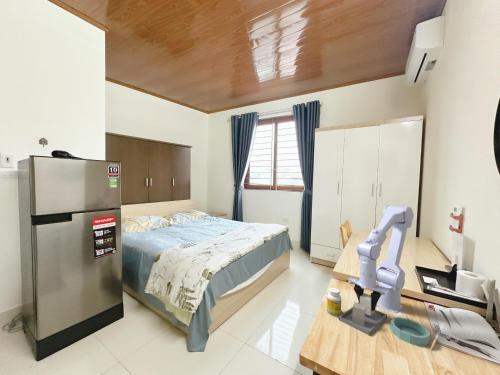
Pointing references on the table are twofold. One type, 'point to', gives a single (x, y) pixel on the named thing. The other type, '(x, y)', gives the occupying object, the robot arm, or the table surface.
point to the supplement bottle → (334, 302)
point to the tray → (370, 323)
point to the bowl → (410, 331)
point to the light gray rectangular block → (359, 314)
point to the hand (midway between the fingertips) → (367, 307)
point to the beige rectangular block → (367, 303)
